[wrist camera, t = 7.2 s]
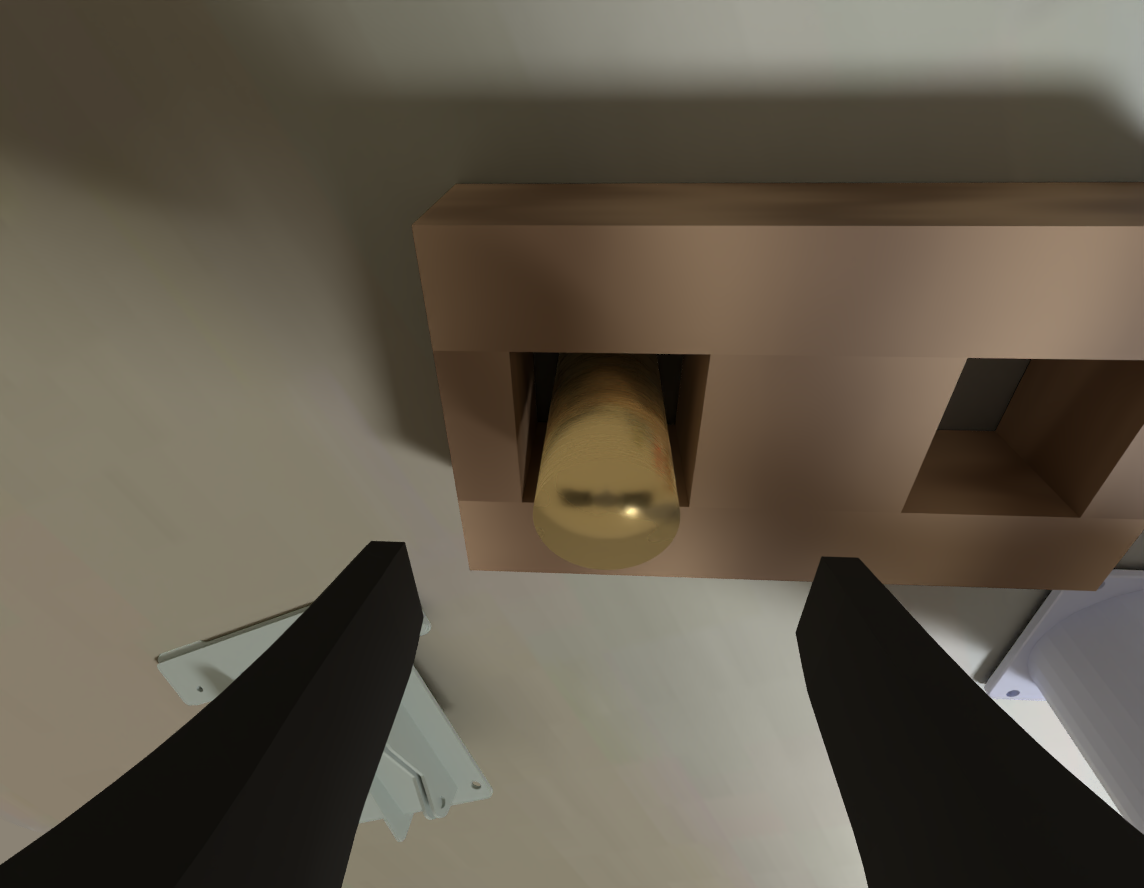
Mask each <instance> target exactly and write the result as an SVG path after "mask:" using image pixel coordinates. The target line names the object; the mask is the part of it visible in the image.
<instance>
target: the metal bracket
mask: <svg viewBox="0 0 1144 888" xmlns="http://www.w3.org/2000/svg"><path fill="white" fill-rule="evenodd" d="M309 606H310V605H309ZM309 606H307V607H304V608H301V609H298V610H295V611H293V612H290V613H287V614H284V615H281V616H279V617H276V618H273V619H270V620H267V621H265V622H262V623H259V624H256V625H253V626H250V627H248V628H245V629H242V630H239V631H236V632H234V633H231V634H228V635H225V636H222V637H220V638H217V639H214V640H211V641H207V642H205V641H201V640H200V641H197V642H194V643H191V644H188V645H185V646H182V647H179V648H176V649H173V650H170V651H167V652H164V653H162V654H160V656H159V657H158V663H159V664H158V666H157V667H158V669H159V671H160V672H161V673H162V675H163V676H164V677H165V678H166V680H167V681H168V682H169V683H170V685H171V686H172V687H173V689H174V690H175V691H176V692H177V694H178V695H179V696H180V698H181V699H182V700H183V701H184V703H186V704H187V705H200V704H203V703H206V702H209V701H212V700H214V699H215V698H216V697H217V696H218V695H219V694H220V693H221V692H223V691H224V690H225V689H226V688H227V687H228V686H229V685H230V684H231V683H232V682H233V681H234V680H235V679H236V678H237V677H238V676H239V675H241V674H242V673H243V672H244V671H245V670H246V669H247V668H248V667H249V666H250V665H251V664H252V663H253V662H254V661H255V660H256V659H257V658H259V657H260V656H261V655H262V654H263V653H264V652H265V651H266V650H267V649H268V648H269V647H270V646H271V645H272V644H273V643H274V642H275V641H276V640H277V639H278V638H279V637H280V636H281V635H282V634H283V633H284V632H285V631H286V630H287V629H288V628H289V627H290V626H291V625H292V624H293V623H294V622H295V621H296V620H297V619H298V618H299V616H300V615H301V614H302V613H303V612H304V611H305V610H306V609H307V608H308V607H309ZM422 612H423V610H422ZM423 616H424V618H423V623H422V628H421V632H420V636H421V635H424V634H427V633H428V632H429V630H430V629H431V624H430V622H429V620H428V618H427V617H426V615H425V614H424V612H423ZM472 781H476V782H478V783H479V784H480V785H481V786H476V785H474V784H473V783H472ZM492 793H493V789H492V787H491V786H490V784H489V782H488V781H487V779H486V778H485V776H484V775H483V773H482V771H481V770H480V768H479V767H478V765H477V764H476V762H475V761H474V759H473V757H472V756H471V754H470V753H469V751H468V750H467V748H466V747H465V745H464V743H463V742H462V740H461V739H460V737H459V736H458V734H457V732H456V731H455V729H454V728H453V726H452V725H451V723H450V722H449V720H448V718H447V717H446V715H445V714H444V712H443V711H442V709H441V708H440V706H439V704H438V703H437V701H436V700H435V698H434V697H433V695H432V694H431V692H430V690H429V689H428V687H427V686H426V684H425V683H424V681H423V679H422V678H421V676H420V675H419V673H418V672H417V670H416V669H415V667H414V665H413V667H412V671H411V674H410V677H409V680H408V683H407V686H406V689H405V692H404V695H403V698H402V700H401V703H400V706H399V709H398V712H397V715H396V718H395V720H394V723H393V726H392V729H391V732H390V734H389V737H388V740H387V743H386V746H385V748H384V751H383V754H382V757H381V760H380V762H379V765H378V768H377V771H376V774H375V776H374V779H373V782H372V785H371V788H370V790H369V793H368V796H367V799H366V802H365V805H364V808H363V811H362V814H361V817H360V821H359V823H363V822H368V821H374V820H379V819H384V821H385V822H386V824H387V826H388V827H389V829H390V830H391V832H392V834H393V835H394V837H395V839H396V840H397V841H398V842H400V841H403V840H404V839H405V838H406V835H407V832H408V829H409V826H410V823H411V820H412V817H413V814H414V813H415V812H420V811H423V814H424V816H425V817H426V818H427V819H429V820H431V819H436V818H442V817H445V816H446V815H447V813H448V811H449V809H450V806H451V805H456V804H461V803H467V802H472V801H477V800H482V799H487V798H490V797H491V796H492Z"/></svg>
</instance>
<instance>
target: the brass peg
mask: <svg viewBox="0 0 1144 888" xmlns="http://www.w3.org/2000/svg"><path fill="white" fill-rule="evenodd" d="M533 521H534V526H535V529H536V531H537V533H538V535H539V537H540V539H541V540H542V541H543V543H544V544H545V545H546V546H547V547H548V548H549V549H550V550H551V551H552V552H554V553H555V554H556V555H558V556H559V557H561V558H562V559H564V560H566V561H568V562H570V563H573V564H576V565H578V566H582V567H586V568H591V569H598V570H617V569H625V568H630V567H634V566H637V565H640V564H642V563H645V562H647V561H649V560H651V559H653V558H654V557H656V556H657V555H659V554H660V553H662V552H663V551H664V550H665V549H666V548H667V547H668V546H669V544H670V543H671V542H672V541H673V539H674V537H675V536H676V534H677V531H678V529H679V524H680V507H679V500H678V494H677V487H676V480H675V473H674V467H673V460H672V453H671V447H670V440H669V433H668V426H667V420H666V413H665V406H664V400H663V393H662V386H661V379H660V373H659V366H658V359H657V354H641V353H566V352H559V357H558V363H557V369H556V375H555V381H554V387H553V393H552V399H551V405H550V411H549V417H548V423H547V429H546V435H545V441H544V447H543V453H542V459H541V465H540V471H539V477H538V483H537V489H536V495H535V501H534V507H533Z"/></svg>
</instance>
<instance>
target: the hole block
mask: <svg viewBox="0 0 1144 888" xmlns="http://www.w3.org/2000/svg"><path fill="white" fill-rule="evenodd" d="M412 231H413V237H414V243H415V249H416V255H417V261H418V267H419V272H420V278H421V284H422V290H423V296H424V302H425V308H426V314H427V320H428V326H429V332H430V337H431V343H432V349H433V355H434V361H435V367H436V373H437V379H438V385H439V391H440V397H441V402H442V408H443V414H444V420H445V426H446V432H447V438H448V444H449V450H450V456H451V462H452V467H453V473H454V479H455V485H456V491H457V497H458V503H459V509H460V515H461V521H462V527H463V532H464V538H465V544H466V550H467V556H468V562H469V568H470V570H484V571H514V572H543V573H573V574H602V575H632V576H661V577H691V578H721V579H750V580H780V581H809V582H813V580H814V577H815V574H816V571H817V568H818V565H819V562H820V559H821V556H827V557H856V558H859V559H860V560H861V561H862V562H863V563H864V564H865V565H866V566H867V567H868V568H869V569H870V571H871V572H872V573H873V574H874V575H875V576H876V577H877V578H878V579H879V580H880V582H881V583H882V584H898V585H927V586H957V587H987V588H1016V589H1046V590H1075V591H1097V589H1098V588H1099V587H1100V585H1101V584H1102V583H1103V582H1104V580H1105V579H1106V578H1107V576H1108V575H1109V574H1110V573H1111V571H1112V570H1113V569H1114V567H1115V566H1116V565H1117V564H1118V562H1119V561H1120V560H1121V558H1122V557H1123V556H1124V555H1125V553H1126V552H1127V551H1128V549H1129V548H1130V547H1131V546H1132V544H1133V543H1134V542H1135V541H1136V539H1137V538H1138V537H1139V535H1140V534H1141V533H1142V532H1143V530H1144V182H1018V183H593V184H455V185H454V186H453V187H452V188H451V189H450V190H449V191H448V192H447V193H446V194H444V195H443V196H442V197H441V198H440V199H439V200H438V201H437V202H436V203H435V204H434V205H433V206H432V207H431V208H429V209H428V210H427V211H426V212H425V213H424V214H423V215H422V216H421V217H420V218H419V219H418V220H417V221H416V222H414V223H413V224H412ZM533 352H566V353H641V354H683V360H682V369H681V378H680V387H679V396H678V405H677V415H676V424H675V425H667V426H668V433H669V440H670V447H671V453H672V460H673V467H674V473H675V480H676V487H677V494H678V500H679V507H680V524H679V529H678V531H677V534H676V536H675V537H674V539H673V541H672V542H671V543H670V544H669V546H668V547H667V548H666V549H665V550H664V551H663V552H662V553H660V554H659V555H657V556H656V557H654V558H653V559H651V560H649V561H647V562H645V563H642V564H640V565H637V566H634V567H630V568H625V569H617V570H598V569H591V568H586V567H582V566H578V565H576V564H573V563H570V562H568V561H566V560H564V559H562V558H561V557H559V556H558V555H556V554H555V553H554V552H552V551H551V550H550V549H549V548H548V547H547V546H546V545H545V544H544V543H543V541H542V540H541V539H540V537H539V535H538V533H537V531H536V529H535V526H534V521H533V507H534V501H535V495H536V489H537V483H538V477H539V471H540V465H541V459H542V453H543V447H544V441H545V435H546V429H547V423H548V422H537V407H536V390H535V373H534V355H533ZM967 358H1016V359H1031V361H1030V363H1029V365H1028V367H1027V369H1026V371H1025V373H1024V375H1023V377H1022V379H1021V381H1020V383H1019V385H1018V387H1017V389H1016V391H1015V393H1014V395H1013V397H1012V399H1011V401H1010V403H1009V405H1008V407H1007V409H1006V411H1005V413H1004V415H1003V417H1002V419H1001V421H1000V423H999V425H998V427H997V429H996V431H969V430H937V428H938V425H939V423H940V421H941V418H942V416H943V414H944V411H945V409H946V407H947V404H948V402H949V400H950V397H951V395H952V393H953V391H954V388H955V386H956V384H957V381H958V379H959V377H960V374H961V372H962V370H963V367H964V365H965V363H966V360H967Z"/></svg>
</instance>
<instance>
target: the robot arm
mask: <svg viewBox="0 0 1144 888" xmlns="http://www.w3.org/2000/svg"><path fill="white" fill-rule="evenodd" d="M423 618H424V616H423V612H422V608H421V604H420V600H419V596H418V592H417V588H416V584H415V580H414V576H413V572H412V568H411V564H410V560H409V556H408V552H407V549H406V545H405V542H385V541H371V542H370V543H369V544H368V545H366V547H365V548H364V549H363V550H362V551H361V552H360V553H359V554H358V555H357V556H356V557H355V558H354V559H353V560H352V561H351V562H350V564H349V565H348V566H347V567H346V568H345V569H344V570H343V571H342V572H341V573H340V574H339V575H338V576H337V578H336V579H335V580H334V581H333V582H332V583H331V584H330V585H329V586H328V587H327V588H326V589H325V590H324V591H323V592H322V594H321V595H320V596H319V597H318V598H317V599H316V600H315V601H314V602H313V603H312V604H311V605H310V606H309V607H308V608H307V609H306V610H305V611H304V612H303V613H302V614H301V615H300V616H299V618H298V619H297V620H296V621H295V622H294V623H293V624H292V625H291V626H290V627H289V628H288V629H287V630H286V631H285V632H284V633H283V634H282V635H281V636H280V637H279V638H278V639H277V640H276V641H275V642H274V643H273V644H272V645H271V646H270V647H269V648H268V649H267V650H266V651H265V652H264V653H263V654H262V655H261V656H260V657H259V658H257V659H256V660H255V661H254V662H253V663H252V664H251V665H250V666H249V667H248V668H247V669H246V670H245V671H244V672H243V673H242V674H241V675H239V676H238V677H237V678H236V679H235V680H234V681H233V682H232V683H231V684H230V685H229V686H228V687H227V688H226V689H225V690H224V691H223V692H221V693H220V694H219V695H218V696H217V697H216V698H215V699H214V700H213V701H211V702H210V703H209V704H208V705H207V706H206V707H205V708H204V709H202V710H201V711H200V712H199V713H198V714H197V715H196V716H194V717H193V718H192V719H191V720H190V721H189V722H187V723H186V724H185V725H184V726H183V727H182V728H180V729H179V730H178V731H177V732H176V733H174V734H173V735H172V736H171V737H170V738H168V739H167V740H166V741H165V742H164V743H163V744H161V745H160V746H159V747H158V748H157V749H155V750H154V751H153V752H152V753H150V754H149V755H148V756H147V757H145V758H144V759H143V760H142V761H140V762H139V763H138V764H137V765H135V766H134V767H133V768H131V769H130V770H129V771H128V772H126V773H125V774H124V775H122V776H121V777H120V778H119V779H117V780H116V781H115V782H114V783H112V784H111V785H110V786H108V787H107V788H106V789H104V790H103V791H102V792H100V793H99V794H98V795H96V796H95V797H94V798H92V799H91V800H90V801H88V802H87V803H86V804H85V805H83V806H82V807H81V808H79V809H78V810H77V811H75V812H74V813H73V814H71V815H70V816H69V817H67V818H66V819H65V820H63V821H62V822H61V823H59V824H58V825H57V826H55V827H54V828H52V829H51V830H50V831H48V832H47V833H45V834H44V835H42V836H41V837H40V838H38V839H37V840H35V841H34V842H33V843H31V844H30V845H28V846H27V847H25V848H24V849H23V850H21V851H20V852H18V853H17V854H15V855H14V856H13V857H11V858H10V859H8V860H7V861H5V862H4V863H2V864H1V865H0V888H341V887H342V883H343V879H344V875H345V872H346V868H347V864H348V860H349V856H350V852H351V849H352V845H353V841H354V837H355V833H356V830H357V827H358V824H359V821H360V817H361V814H362V811H363V808H364V805H365V802H366V799H367V796H368V793H369V790H370V788H371V785H372V782H373V779H374V776H375V774H376V771H377V768H378V765H379V762H380V760H381V757H382V754H383V751H384V748H385V746H386V743H387V740H388V737H389V734H390V732H391V729H392V726H393V723H394V720H395V718H396V715H397V712H398V709H399V706H400V703H401V700H402V698H403V695H404V692H405V689H406V686H407V683H408V680H409V677H410V674H411V671H412V667H413V663H414V659H415V655H416V650H417V646H418V641H419V637H420V632H421V628H422V623H423ZM796 637H797V642H798V647H799V653H800V658H801V663H802V668H803V673H804V678H805V682H806V687H807V691H808V695H809V698H810V701H811V704H812V707H813V710H814V714H815V717H816V720H817V723H818V726H819V729H820V732H821V735H822V738H823V741H824V744H825V747H826V750H827V753H828V756H829V759H830V762H831V765H832V769H833V772H834V775H835V778H836V781H837V784H838V787H839V790H840V793H841V796H842V799H843V802H844V805H845V808H846V811H847V814H848V817H849V820H850V823H851V826H852V829H853V832H854V836H855V839H856V843H857V846H858V849H859V853H860V856H861V860H862V863H863V867H864V871H865V875H866V880H867V884H868V888H1144V570H1119V569H1113V570H1112V571H1111V573H1110V574H1109V575H1108V576H1107V578H1106V579H1105V580H1104V582H1103V583H1102V584H1101V585H1100V587H1099V588H1098V589H1097V591H1075V590H1052V591H1051V593H1050V594H1049V596H1048V597H1047V598H1046V600H1045V601H1044V603H1043V604H1042V605H1041V607H1040V608H1039V610H1038V611H1037V612H1036V614H1035V615H1034V617H1033V618H1032V619H1031V621H1030V622H1029V624H1028V625H1027V626H1026V628H1025V629H1024V631H1023V632H1022V634H1021V635H1020V636H1019V638H1018V639H1017V641H1016V642H1015V643H1014V645H1013V646H1012V648H1011V649H1010V650H1009V652H1008V653H1007V655H1006V656H1005V657H1004V659H1003V660H1002V662H1001V663H1000V664H999V666H998V667H997V669H996V670H995V672H994V673H993V674H992V676H991V677H990V679H989V680H988V681H987V683H986V684H985V686H984V688H985V690H986V692H987V694H988V695H987V694H986V693H985V692H984V691H983V690H982V689H981V688H980V687H979V686H978V685H977V684H976V683H975V682H974V681H973V680H972V679H971V678H970V677H969V676H968V675H967V674H966V673H965V671H964V670H963V669H962V668H961V667H960V666H959V665H958V664H957V663H956V662H955V661H954V660H953V659H952V658H951V657H950V656H949V655H948V654H947V653H946V652H945V651H944V650H943V649H942V648H941V647H940V646H939V645H938V643H937V642H936V641H935V640H934V639H933V638H932V637H931V636H930V635H929V634H928V633H927V632H926V631H925V630H924V629H923V627H922V626H921V625H920V624H919V623H918V622H917V621H916V620H915V619H914V618H913V617H912V616H911V614H910V613H909V612H908V611H907V610H906V609H905V608H904V607H903V606H902V605H901V604H900V602H899V601H898V600H897V599H896V598H895V597H894V596H893V595H892V594H891V593H890V591H889V590H888V589H887V588H886V587H885V586H884V585H883V584H882V583H881V582H880V580H879V579H878V578H877V577H876V576H875V575H874V574H873V573H872V572H871V571H870V569H869V568H868V567H867V566H866V565H865V564H864V563H863V562H862V561H861V560H860V559H859V558H856V557H827V556H821V559H820V562H819V565H818V568H817V571H816V574H815V577H814V580H813V583H812V586H811V589H810V592H809V595H808V597H807V600H806V603H805V606H804V609H803V612H802V615H801V618H800V621H799V624H798V627H797V630H796ZM990 697H991V698H995V699H1014V700H1036V701H1047V702H1048V704H1049V705H1050V707H1051V708H1052V710H1053V711H1054V713H1055V714H1056V716H1057V717H1058V719H1059V720H1060V722H1061V724H1062V725H1063V727H1064V728H1065V730H1066V731H1067V733H1068V734H1069V736H1070V737H1071V739H1072V740H1073V742H1074V743H1075V745H1076V746H1077V748H1078V749H1079V751H1080V752H1081V754H1082V755H1083V757H1084V758H1085V760H1086V761H1087V763H1088V765H1089V766H1090V768H1091V769H1092V771H1093V772H1094V774H1095V775H1096V777H1097V778H1098V780H1099V781H1100V783H1101V784H1102V786H1103V787H1104V789H1105V790H1106V792H1107V793H1108V795H1109V796H1110V798H1111V799H1112V801H1113V803H1114V804H1115V806H1116V807H1117V809H1118V810H1119V812H1120V813H1121V815H1122V816H1123V817H1122V816H1121V815H1119V814H1118V813H1117V812H1116V811H1115V810H1114V809H1113V808H1111V807H1110V806H1109V805H1108V804H1107V803H1106V802H1104V801H1103V800H1102V799H1101V798H1100V797H1099V796H1097V795H1096V794H1095V793H1094V792H1093V791H1092V790H1090V789H1089V788H1088V787H1087V786H1086V785H1085V784H1083V783H1082V782H1081V781H1080V780H1079V779H1078V778H1077V777H1075V776H1074V775H1073V774H1072V773H1071V772H1070V771H1068V770H1067V769H1066V768H1065V767H1064V766H1063V765H1062V764H1061V763H1059V762H1058V761H1057V760H1056V759H1055V758H1054V757H1053V756H1052V755H1051V754H1049V753H1048V752H1047V751H1046V750H1045V749H1044V748H1043V747H1042V746H1041V745H1040V744H1038V743H1037V742H1036V741H1035V740H1034V739H1033V738H1032V737H1031V736H1030V735H1029V734H1028V733H1027V732H1026V731H1025V730H1024V729H1023V728H1022V727H1021V726H1020V725H1018V724H1017V723H1016V722H1015V721H1014V720H1013V719H1012V718H1011V717H1010V716H1009V715H1008V714H1007V713H1006V712H1005V711H1004V710H1003V709H1002V708H1001V707H1000V706H998V705H997V704H996V703H995V702H994V701H993V700H992V699H991V698H990Z"/></svg>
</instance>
